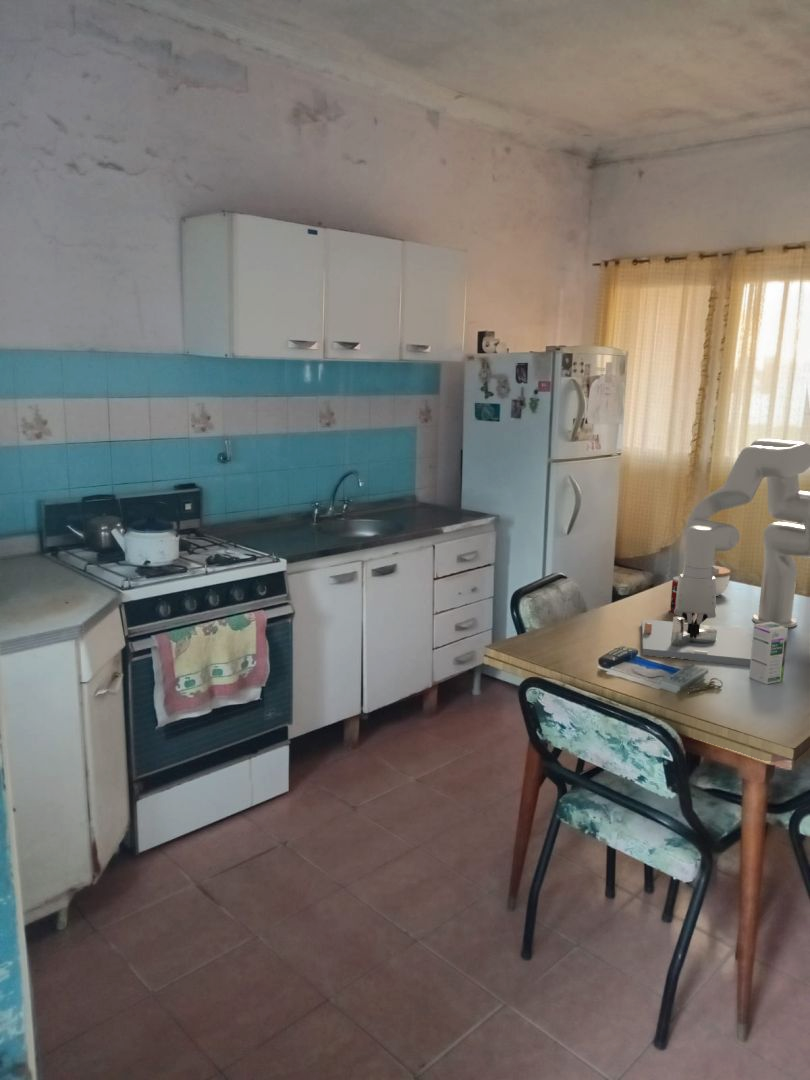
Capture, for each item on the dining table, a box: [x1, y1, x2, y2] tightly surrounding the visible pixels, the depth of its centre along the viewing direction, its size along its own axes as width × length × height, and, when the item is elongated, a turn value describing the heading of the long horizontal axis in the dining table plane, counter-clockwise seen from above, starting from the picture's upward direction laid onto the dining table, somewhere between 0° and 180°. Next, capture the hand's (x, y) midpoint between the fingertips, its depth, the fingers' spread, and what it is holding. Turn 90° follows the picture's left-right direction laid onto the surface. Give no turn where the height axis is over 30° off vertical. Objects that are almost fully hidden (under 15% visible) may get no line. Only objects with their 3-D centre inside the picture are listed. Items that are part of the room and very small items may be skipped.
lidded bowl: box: [713, 565, 731, 597], centre depth 286 cm, size 13×13×11 cm
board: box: [641, 618, 753, 667], centre depth 234 cm, size 28×30×5 cm
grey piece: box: [671, 616, 717, 646], centre depth 231 cm, size 16×10×8 cm, turn 128°
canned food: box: [670, 575, 694, 615], centre depth 265 cm, size 8×8×11 cm
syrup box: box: [749, 621, 789, 685], centre depth 208 cm, size 6×6×14 cm
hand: (692, 636), depth 225 cm, fingers closed
